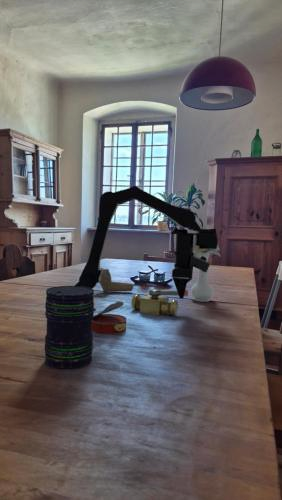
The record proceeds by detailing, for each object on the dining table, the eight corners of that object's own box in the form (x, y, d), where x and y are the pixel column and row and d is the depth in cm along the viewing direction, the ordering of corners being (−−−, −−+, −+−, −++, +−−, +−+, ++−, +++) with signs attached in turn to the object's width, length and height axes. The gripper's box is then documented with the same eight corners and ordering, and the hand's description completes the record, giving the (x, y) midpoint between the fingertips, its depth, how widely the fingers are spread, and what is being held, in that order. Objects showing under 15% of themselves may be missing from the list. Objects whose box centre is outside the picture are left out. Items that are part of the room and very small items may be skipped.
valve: (170, 318, 107) (171, 300, 107) (129, 310, 115) (130, 294, 114) (179, 313, 113) (179, 296, 113) (139, 306, 121) (140, 291, 120)
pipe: (134, 294, 143) (135, 270, 143) (94, 293, 141) (95, 269, 140) (132, 291, 150) (133, 268, 149) (94, 290, 147) (95, 267, 146)
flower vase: (212, 295, 145) (215, 237, 144) (222, 305, 127) (225, 239, 125) (181, 294, 146) (184, 236, 144) (187, 304, 127) (190, 237, 125)
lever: (150, 296, 111) (150, 291, 111) (147, 293, 115) (148, 289, 115) (188, 296, 113) (188, 291, 113) (184, 293, 117) (185, 289, 117)
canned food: (100, 351, 89) (83, 320, 87) (95, 335, 99) (80, 307, 96) (138, 331, 91) (123, 300, 88) (129, 317, 101) (116, 288, 98)
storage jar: (72, 348, 78) (73, 284, 77) (102, 360, 72) (104, 290, 71) (34, 360, 70) (35, 289, 69) (64, 375, 64) (66, 297, 63)
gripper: (210, 251, 101) (207, 303, 102) (208, 247, 119) (206, 291, 120) (172, 249, 103) (170, 300, 104) (176, 246, 121) (174, 289, 122)
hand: (182, 295), depth 112 cm, fingers open, 9 cm apart
